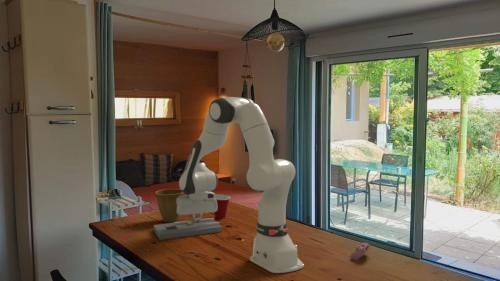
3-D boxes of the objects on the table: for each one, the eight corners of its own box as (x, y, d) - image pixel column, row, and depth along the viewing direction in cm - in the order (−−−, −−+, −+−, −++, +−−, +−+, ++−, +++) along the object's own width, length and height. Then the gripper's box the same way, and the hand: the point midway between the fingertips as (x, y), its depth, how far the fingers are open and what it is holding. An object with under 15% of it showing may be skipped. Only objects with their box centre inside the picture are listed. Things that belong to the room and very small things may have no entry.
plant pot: (171, 215, 212) (170, 187, 211) (190, 219, 203) (189, 190, 202) (150, 221, 200) (149, 192, 199) (169, 226, 191) (168, 195, 190)
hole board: (221, 231, 183) (221, 224, 183) (159, 239, 171) (159, 232, 170) (211, 223, 197) (211, 216, 197) (153, 230, 185) (153, 222, 185)
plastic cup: (229, 220, 202) (229, 198, 202) (209, 220, 203) (209, 198, 202) (231, 215, 213) (231, 194, 212) (212, 214, 213) (212, 194, 213)
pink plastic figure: (358, 265, 146) (367, 251, 144) (348, 258, 148) (356, 244, 146) (365, 257, 155) (373, 243, 153) (355, 250, 157) (363, 237, 155)
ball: (191, 216, 182) (185, 223, 181) (196, 222, 184) (190, 228, 183) (189, 214, 186) (183, 220, 185) (194, 220, 187) (188, 226, 186)
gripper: (177, 197, 178) (178, 226, 179) (218, 194, 186) (218, 221, 187) (174, 195, 184) (175, 222, 185) (214, 191, 192) (214, 218, 193)
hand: (197, 222), depth 186 cm, fingers closed
